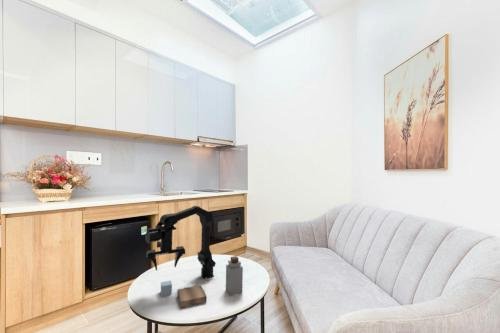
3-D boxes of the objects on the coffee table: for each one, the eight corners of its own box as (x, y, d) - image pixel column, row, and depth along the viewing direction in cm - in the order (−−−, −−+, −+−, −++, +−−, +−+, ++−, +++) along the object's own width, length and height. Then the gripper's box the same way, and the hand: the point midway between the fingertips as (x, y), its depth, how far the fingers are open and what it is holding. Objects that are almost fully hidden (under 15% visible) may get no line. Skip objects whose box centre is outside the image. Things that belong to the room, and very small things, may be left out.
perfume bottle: (230, 296, 116) (231, 260, 116) (225, 290, 122) (226, 256, 122) (242, 293, 119) (242, 258, 120) (237, 287, 125) (237, 254, 126)
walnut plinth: (200, 290, 121) (200, 284, 121) (206, 302, 110) (206, 296, 110) (177, 295, 116) (177, 289, 116) (181, 308, 105) (181, 301, 105)
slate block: (170, 289, 121) (170, 280, 121) (171, 294, 117) (171, 284, 117) (160, 291, 119) (160, 282, 119) (161, 296, 115) (161, 286, 115)
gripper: (182, 233, 131) (181, 260, 130) (146, 237, 123) (145, 266, 122) (185, 238, 121) (185, 267, 121) (147, 242, 113) (146, 274, 112)
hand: (165, 268), depth 119 cm, fingers open, 9 cm apart
